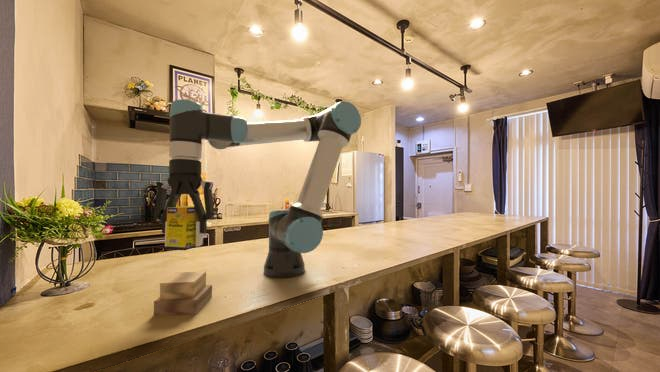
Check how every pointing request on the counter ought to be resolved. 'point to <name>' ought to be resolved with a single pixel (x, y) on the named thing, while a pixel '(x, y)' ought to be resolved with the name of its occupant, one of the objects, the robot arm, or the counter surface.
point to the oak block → (182, 285)
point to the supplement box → (181, 228)
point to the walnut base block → (183, 304)
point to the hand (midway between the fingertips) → (184, 245)
